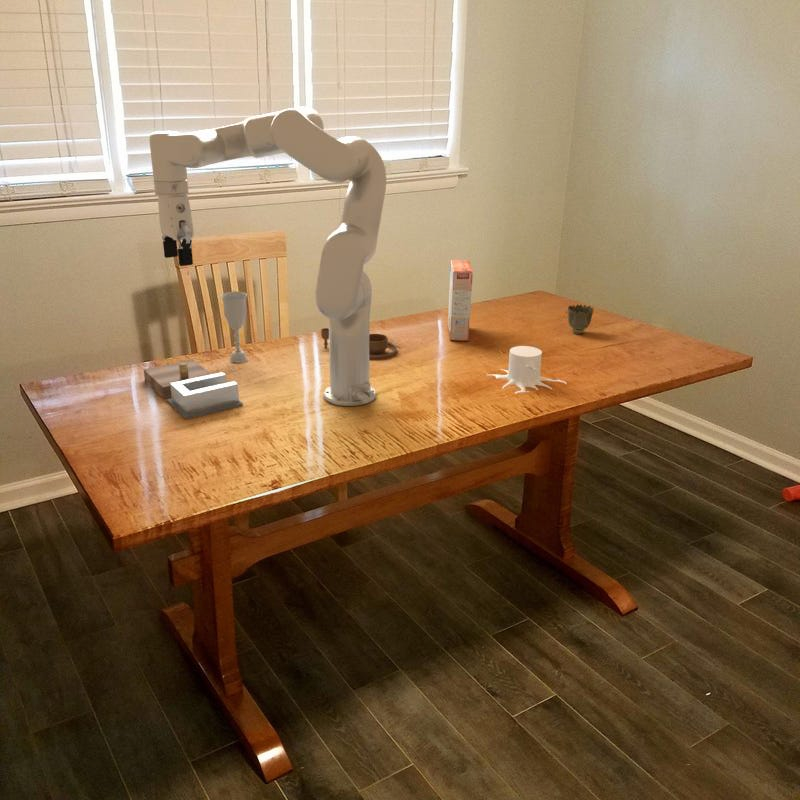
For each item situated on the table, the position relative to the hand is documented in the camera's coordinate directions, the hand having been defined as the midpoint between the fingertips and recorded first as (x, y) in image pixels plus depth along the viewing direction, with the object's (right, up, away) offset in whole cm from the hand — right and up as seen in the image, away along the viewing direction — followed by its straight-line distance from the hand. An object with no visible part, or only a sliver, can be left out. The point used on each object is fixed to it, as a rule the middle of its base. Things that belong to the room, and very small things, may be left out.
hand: (178, 261), depth 191 cm
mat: (+7, -34, -2) cm, 35 cm away
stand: (-2, -29, +9) cm, 31 cm away
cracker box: (+70, -14, +48) cm, 86 cm away
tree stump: (+85, -29, +15) cm, 91 cm away
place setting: (+43, -20, +35) cm, 59 cm away
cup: (+107, -13, +50) cm, 118 cm away
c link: (+7, -34, -3) cm, 34 cm away
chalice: (+9, -23, +25) cm, 35 cm away
